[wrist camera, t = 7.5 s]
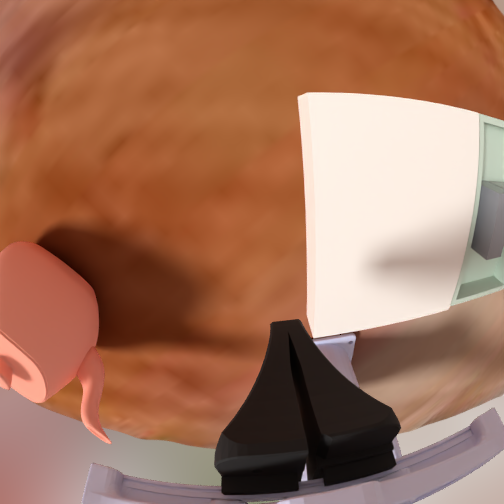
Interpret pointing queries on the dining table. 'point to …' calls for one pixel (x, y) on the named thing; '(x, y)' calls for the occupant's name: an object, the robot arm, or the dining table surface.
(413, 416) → the dining table surface
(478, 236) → the tile
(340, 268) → the board
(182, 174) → the dining table surface
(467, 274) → the box
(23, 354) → the teapot
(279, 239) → the dining table surface
